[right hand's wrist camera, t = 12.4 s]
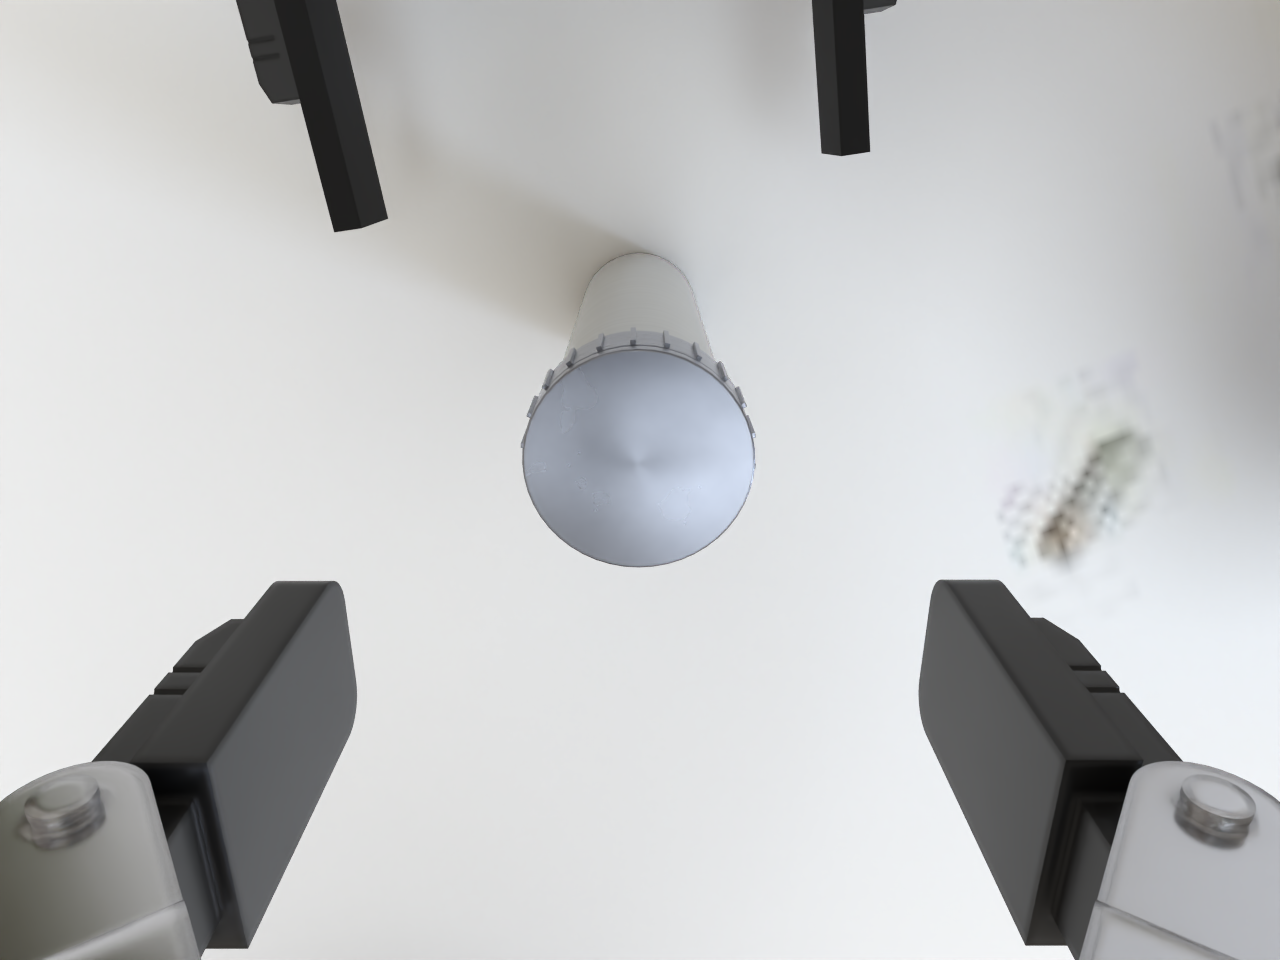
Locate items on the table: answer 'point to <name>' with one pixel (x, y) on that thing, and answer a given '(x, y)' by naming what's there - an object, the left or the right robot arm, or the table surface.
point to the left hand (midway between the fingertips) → (600, 191)
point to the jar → (639, 302)
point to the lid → (638, 449)
